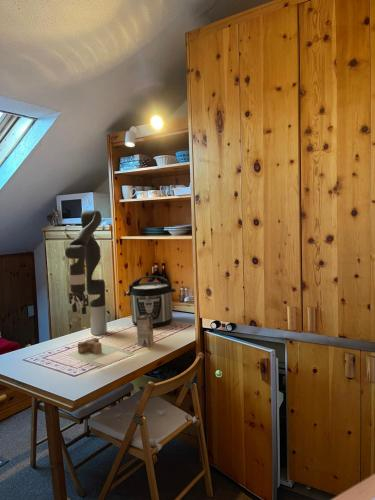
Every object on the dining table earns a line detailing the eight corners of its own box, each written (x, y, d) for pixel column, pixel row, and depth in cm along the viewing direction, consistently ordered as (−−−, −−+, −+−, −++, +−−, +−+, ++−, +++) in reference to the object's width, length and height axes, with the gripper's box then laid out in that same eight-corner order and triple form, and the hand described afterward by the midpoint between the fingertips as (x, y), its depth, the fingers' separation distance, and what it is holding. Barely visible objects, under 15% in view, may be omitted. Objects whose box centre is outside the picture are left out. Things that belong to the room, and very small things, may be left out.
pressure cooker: (120, 326, 249) (118, 278, 246) (145, 316, 273) (143, 272, 271) (158, 331, 234) (156, 280, 231) (182, 320, 258) (180, 273, 256)
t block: (78, 352, 197) (77, 343, 197) (95, 347, 206) (95, 337, 205) (89, 356, 191) (89, 347, 190) (107, 350, 199) (107, 341, 199)
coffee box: (143, 342, 214) (141, 314, 213) (153, 342, 213) (152, 314, 211) (137, 347, 205) (136, 318, 204) (149, 348, 204) (147, 318, 202)
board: (66, 357, 195) (66, 355, 195) (101, 345, 211) (101, 343, 211) (99, 368, 177) (98, 366, 177) (134, 354, 194) (134, 352, 194)
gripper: (63, 282, 204) (65, 312, 205) (79, 284, 195) (81, 316, 196) (75, 280, 210) (77, 310, 211) (91, 282, 201) (93, 313, 202)
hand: (79, 313), depth 203 cm, fingers open, 8 cm apart
